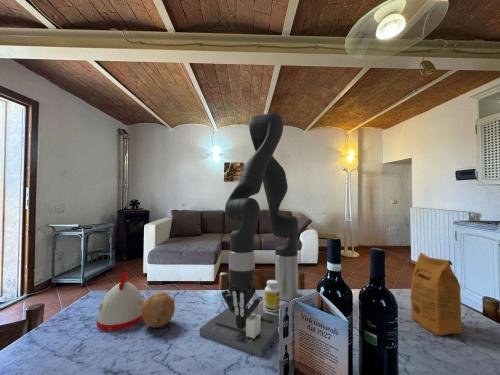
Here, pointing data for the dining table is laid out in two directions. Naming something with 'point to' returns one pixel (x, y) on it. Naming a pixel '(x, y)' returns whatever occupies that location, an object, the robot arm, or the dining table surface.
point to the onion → (158, 310)
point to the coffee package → (436, 296)
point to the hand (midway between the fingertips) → (241, 327)
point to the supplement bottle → (272, 296)
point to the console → (241, 332)
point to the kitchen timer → (120, 306)
